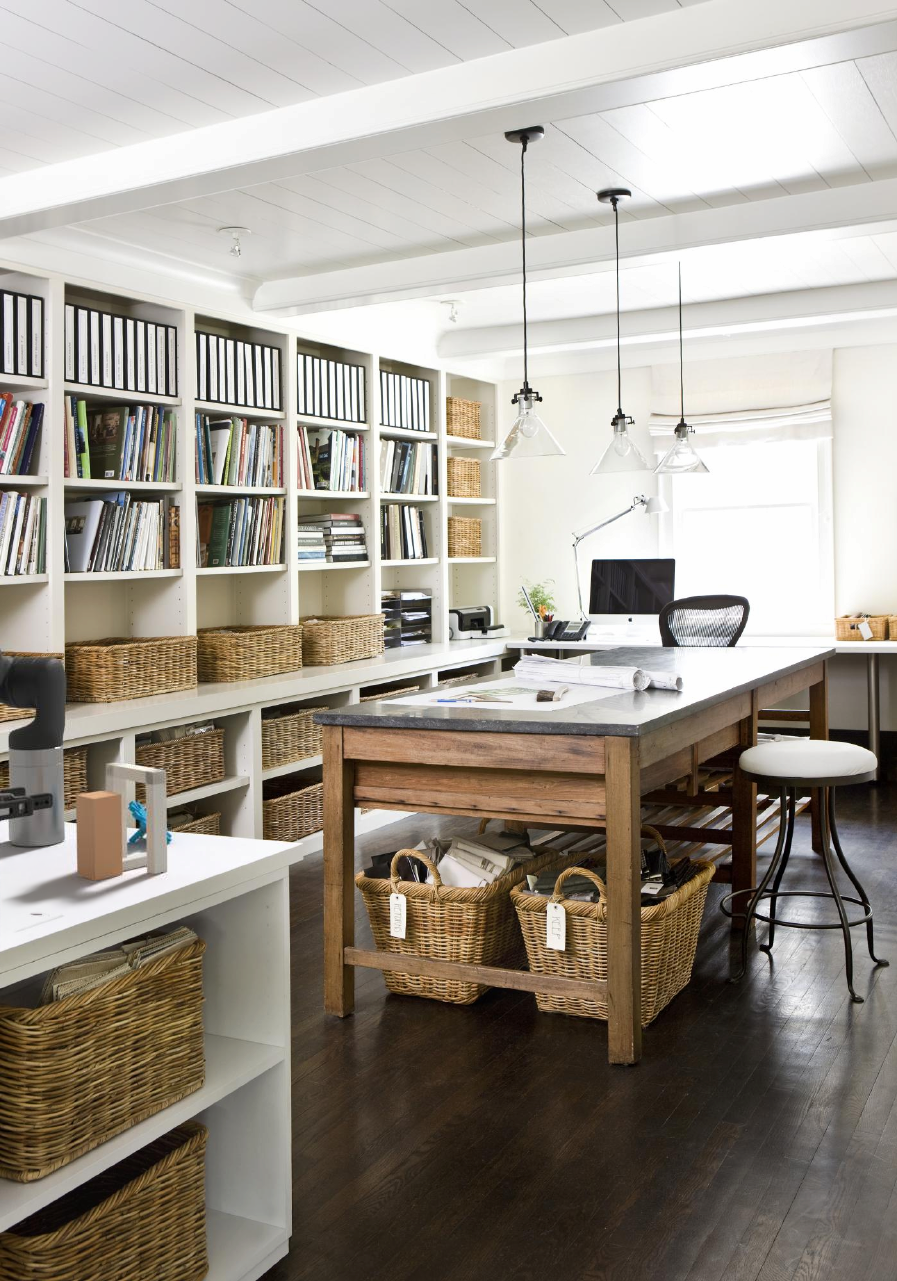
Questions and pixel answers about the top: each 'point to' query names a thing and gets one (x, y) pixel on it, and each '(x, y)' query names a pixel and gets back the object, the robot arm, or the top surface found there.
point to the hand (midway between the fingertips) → (37, 796)
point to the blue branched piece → (141, 816)
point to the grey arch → (154, 809)
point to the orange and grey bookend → (101, 837)
